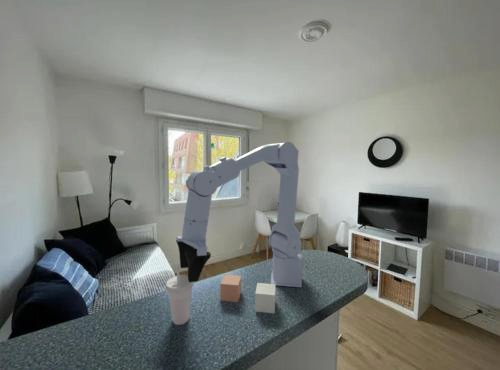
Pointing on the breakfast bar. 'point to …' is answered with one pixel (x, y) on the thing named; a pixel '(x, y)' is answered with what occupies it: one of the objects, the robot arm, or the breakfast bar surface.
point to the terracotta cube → (230, 288)
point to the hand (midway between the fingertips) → (188, 273)
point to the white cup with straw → (179, 297)
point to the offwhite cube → (265, 298)
